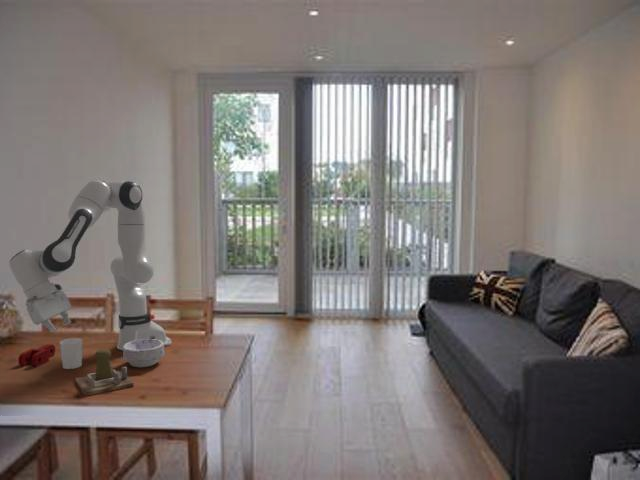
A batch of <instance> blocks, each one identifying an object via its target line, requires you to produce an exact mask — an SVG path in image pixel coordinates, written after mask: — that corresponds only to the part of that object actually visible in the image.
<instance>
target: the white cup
mask: <svg viewBox="0 0 640 480" xmlns="http://www.w3.org/2000/svg"><path fill="white" fill-rule="evenodd" d="M59 348H60V357H61V361H62V365H61V366H62V369H65V370H74V369H78V368H80V367H82V365H83V363H82V362H83V339H82V338H80V337H79V338H78V337H73V338H72V337H71V338H66V339H63V340H61V341H59Z"/></svg>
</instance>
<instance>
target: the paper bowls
mask: <svg viewBox="0 0 640 480" xmlns="http://www.w3.org/2000/svg"><path fill="white" fill-rule="evenodd" d="M122 354H123V355H122V356H123V358H122V359H123V361H125V362H127V363H128V364H130V366H132V367H134V368H149V367H152V366H154V365H156V364H157V363H158V362H159V360H160V359H161V358H162V357H164V356H165V346H164V343H163V342H162V341H161V340H157V339H140V340H135V341H131V342H128V343H126V344H125V345H124V346H123V350H122Z"/></svg>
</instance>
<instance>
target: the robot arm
mask: <svg viewBox="0 0 640 480" xmlns="http://www.w3.org/2000/svg"><path fill="white" fill-rule="evenodd" d="M142 200H143V190H142V188H141V187H140V185H139V184H138V183H137V182H133V181H131V180H130V181H129V180H128V181H126V180H118V179H117V180H116V179H115V180H108V181H106V180H102V181H101V180H98V179H93V180H90V181H89V182H88V183H86V185H84V186H83V188H82V189H81V190H80V191H79V192H78V194H77V195H76V197H75V198H74V199H73V202H72V203H71V206H70V207H69V210H68V212H67V216H68V219H69V222H68V224H67V225H66V226H65V228H64V230H63V232H62V233H61V235H60V237H59V238H58V239H57V240H55V241H53V242H51V243H50V244H49V245H47V246H46V247H45V249H44V250H32V249H27V248H26V249H23V250H21V251H19V252H17V253H16V254H15V255H13V256H12V257H11V259H10V260H9V264H8V265H9V268H10V270H11V273H12V274H13V276H14V278H15V280H16V281H17V283H18V284H19V285H20V286H21V288H22V290H23V293H24V295H25V297H26V298H27V299H26V300H25V301H26V302H25V306H26V311H27V313H28V316H29V317H30V319H31V321H32V323H33V324H34V325H36V326H38V325H40V324H42V325H43V326H44V327H46V329H48V330H49V332H50V333H54V332H56V331H57V330H58V327H57V326H56V325H54V324H53V323H52V320H51V319H52V318H53V319H54V318H55V317H57V316H59V315H60V317H62V320H63V321H62V323H63V324H64V326H67V325H70V324H71V322H72V321H71V320H70V317H69V312H68V311H69V310H70V309H72V304H71V301H70V300H69V298H68V296H67V295H66V293H65V292H64V291H63V286H62V285H61V284H58V283H57V284H56V283H54V282H51V281H50V278H54V277H58V276H60V275H61V274H63V273H64V272H65V271H67V270H68V269H70V268H71V267H72V266H73V264H74V263H75V259H76V251H77V246H78V245H79V243H80V242H81V240H82V238H83V236H84V234H85V233H86V232H87V230H88V229H89V228H91V227H93V226H95V224H96V223H97V221H98V220H99V219H100V217H101V216H102V215H103V213H104V212H105V209H106V208H110V209H112V208H113V209H116V210H117V244H118V246H119V248H120V252H121V255H118V256H116V257H114V258H113V260H112V261H111V263H110V271H111V274H112V275H113V278H114V279H113V280H114V283H115V286H116V290H117V295H118V306H119V314H118V319H117V321H118V328H119V335H118V341H117V346H116V349H118V350H120V351H123V346H124V345H125V344H126V343H128V342H131V341H135V340H140V339H157V340H161V341H162V342H163V343H164V347H165V346H170V345H172V340H171V338H170V337H168V336H167V335H166V331H165V330H164V328H163V327H162V326H161V325H159V324H157V323H156V322H155V321H153V320H155V319H156V316H155V314H153V313H152V314H151V313H149V312H148V311H147V294H146V292H145V290H144V288H143V284H147V283H149V282H150V281H151V280H152V278H153V276H154V274H155V273H154V272H155V271H154V267H153V265H152V263H151V262H150V258H149V254H148V253H149V252H148V249H147V248H148V247H147V243H146V216H145V215H146V213H145V208H144V203H143V202H142Z"/></svg>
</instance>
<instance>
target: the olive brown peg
mask: <svg viewBox="0 0 640 480" xmlns="http://www.w3.org/2000/svg"><path fill="white" fill-rule="evenodd" d="M94 355H95V356H94V357H95V359H96V370H95V373H96V377H95V381H99V380H104V379H110V378H113V374H112V370H113V369H112V366H111V365H112V364H111V357H112V351H111V350H110V349H107V348H104V349H99V350H97V351H96V352H95V354H94Z"/></svg>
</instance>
